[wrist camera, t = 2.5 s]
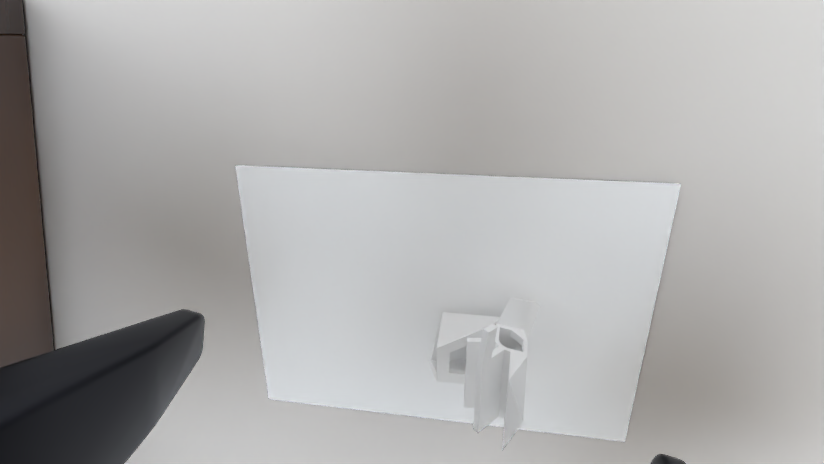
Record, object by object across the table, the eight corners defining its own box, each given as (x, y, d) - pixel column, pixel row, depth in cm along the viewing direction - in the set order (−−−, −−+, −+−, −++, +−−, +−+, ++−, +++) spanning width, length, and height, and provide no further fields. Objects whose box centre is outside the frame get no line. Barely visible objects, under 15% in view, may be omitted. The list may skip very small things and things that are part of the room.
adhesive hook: (530, 374, 12) (540, 477, 9) (430, 364, 13) (411, 459, 10) (542, 268, 11) (557, 348, 8) (431, 260, 12) (410, 334, 9)
